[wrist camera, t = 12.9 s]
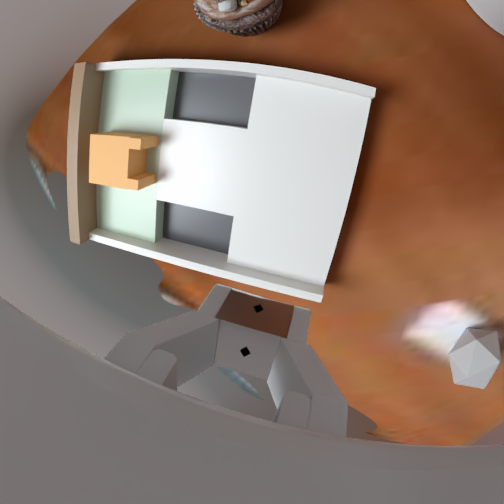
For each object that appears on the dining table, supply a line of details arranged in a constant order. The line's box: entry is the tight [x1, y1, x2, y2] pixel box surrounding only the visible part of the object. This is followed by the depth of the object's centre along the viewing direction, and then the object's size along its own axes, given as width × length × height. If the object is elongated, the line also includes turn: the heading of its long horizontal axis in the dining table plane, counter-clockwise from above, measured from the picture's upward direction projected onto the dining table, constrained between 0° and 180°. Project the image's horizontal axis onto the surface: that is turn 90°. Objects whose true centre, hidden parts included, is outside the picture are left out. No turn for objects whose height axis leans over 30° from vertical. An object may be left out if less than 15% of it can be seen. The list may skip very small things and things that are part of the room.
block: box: [89, 131, 159, 191], centre depth 33 cm, size 6×8×4 cm
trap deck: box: [67, 59, 376, 303], centre depth 33 cm, size 24×34×6 cm
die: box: [448, 328, 502, 389], centre depth 33 cm, size 8×9×10 cm
